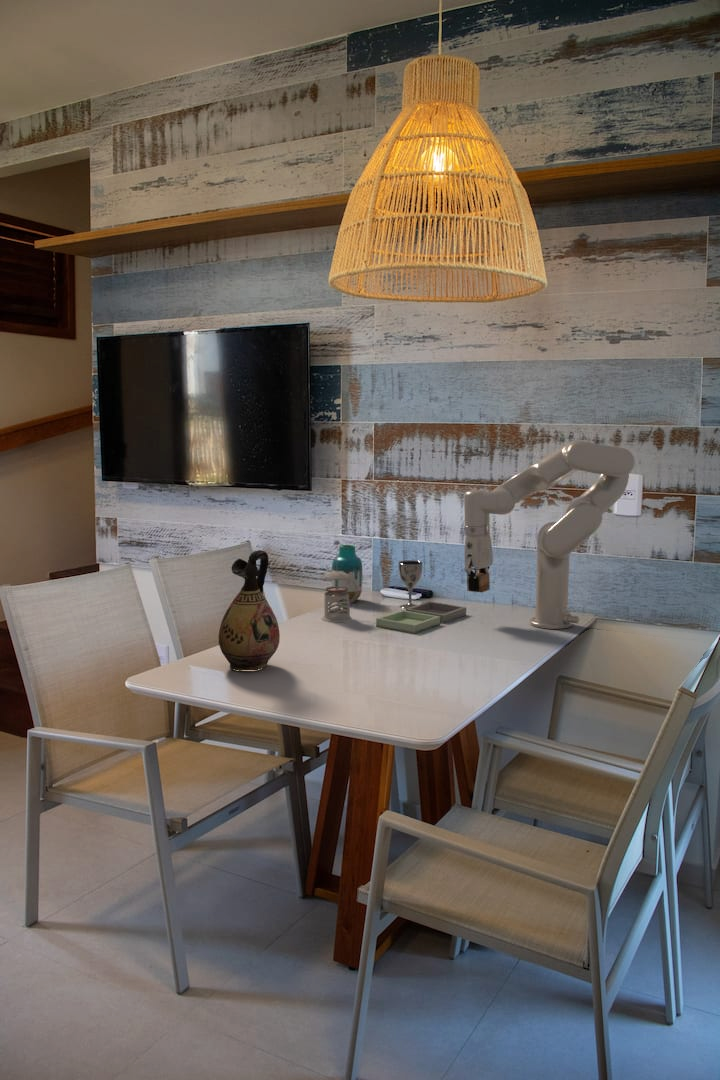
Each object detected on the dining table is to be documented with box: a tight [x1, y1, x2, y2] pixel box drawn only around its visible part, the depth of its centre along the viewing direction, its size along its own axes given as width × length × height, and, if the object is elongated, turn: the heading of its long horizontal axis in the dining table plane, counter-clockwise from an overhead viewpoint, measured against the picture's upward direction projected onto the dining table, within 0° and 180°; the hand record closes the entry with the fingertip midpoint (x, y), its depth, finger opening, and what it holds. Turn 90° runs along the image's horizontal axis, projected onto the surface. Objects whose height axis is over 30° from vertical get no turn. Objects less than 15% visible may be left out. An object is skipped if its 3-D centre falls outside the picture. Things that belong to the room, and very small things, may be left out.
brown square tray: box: [405, 601, 467, 624], centre depth 278 cm, size 14×14×2 cm
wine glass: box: [398, 559, 423, 610], centre depth 290 cm, size 8×8×15 cm
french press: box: [321, 540, 358, 624], centre depth 272 cm, size 10×12×25 cm
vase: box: [331, 544, 364, 602], centre depth 298 cm, size 11×11×19 cm
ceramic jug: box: [217, 549, 281, 671], centre depth 221 cm, size 17×15×30 cm
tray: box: [375, 609, 441, 635], centre depth 265 cm, size 14×14×2 cm
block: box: [466, 572, 491, 594], centre depth 268 cm, size 5×5×5 cm
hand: (478, 588), depth 268 cm, fingers closed on block, 5 cm apart
